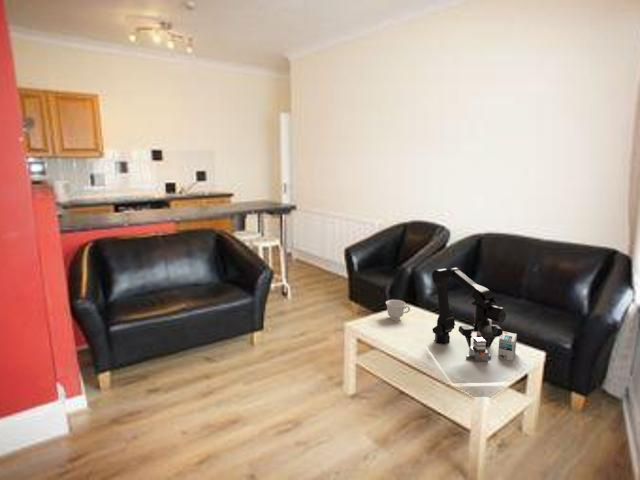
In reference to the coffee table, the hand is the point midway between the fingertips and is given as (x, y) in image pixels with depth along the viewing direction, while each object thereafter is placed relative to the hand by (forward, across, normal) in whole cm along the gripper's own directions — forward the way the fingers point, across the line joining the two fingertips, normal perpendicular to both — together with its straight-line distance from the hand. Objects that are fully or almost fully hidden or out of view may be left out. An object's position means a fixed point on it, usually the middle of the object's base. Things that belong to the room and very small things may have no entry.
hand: (479, 347), depth 186 cm
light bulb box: (+7, +15, +3) cm, 17 cm away
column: (+6, 0, 0) cm, 6 cm away
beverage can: (+7, +9, +15) cm, 19 cm away
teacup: (+7, -26, +53) cm, 59 cm away
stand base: (+7, 0, 0) cm, 7 cm away
